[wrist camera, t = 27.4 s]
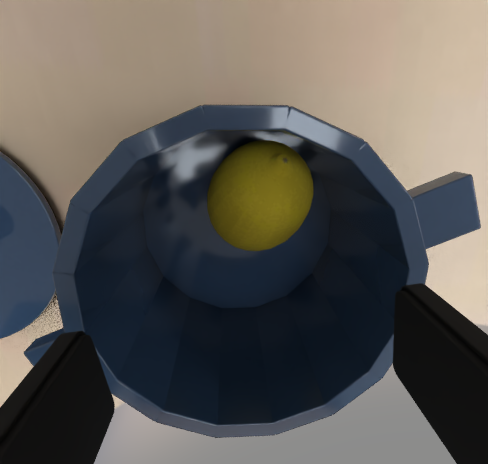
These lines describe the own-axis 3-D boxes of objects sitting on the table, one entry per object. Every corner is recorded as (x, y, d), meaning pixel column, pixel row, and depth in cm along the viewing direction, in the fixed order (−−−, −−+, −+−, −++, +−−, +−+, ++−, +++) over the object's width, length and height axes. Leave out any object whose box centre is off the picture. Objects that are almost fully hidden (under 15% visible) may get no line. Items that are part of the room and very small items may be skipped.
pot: (59, 185, 21) (-95, 237, 11) (340, 61, 19) (459, -12, 9) (160, 349, 25) (115, 491, 15) (394, 259, 24) (514, 352, 14)
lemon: (269, 276, 20) (333, 235, 13) (187, 249, 19) (206, 190, 12) (285, 204, 22) (347, 135, 15) (212, 177, 22) (241, 91, 14)
